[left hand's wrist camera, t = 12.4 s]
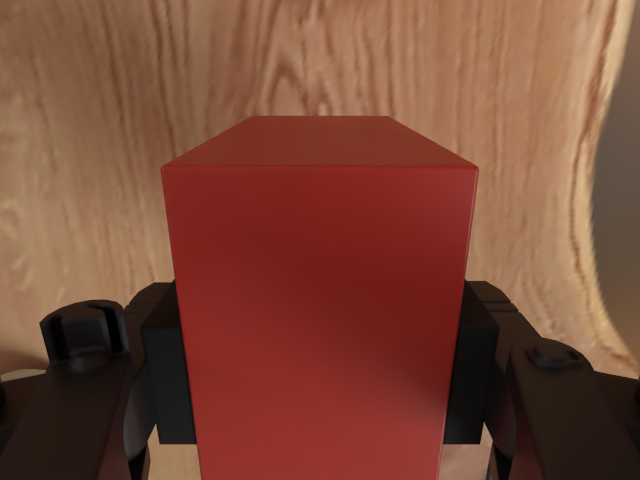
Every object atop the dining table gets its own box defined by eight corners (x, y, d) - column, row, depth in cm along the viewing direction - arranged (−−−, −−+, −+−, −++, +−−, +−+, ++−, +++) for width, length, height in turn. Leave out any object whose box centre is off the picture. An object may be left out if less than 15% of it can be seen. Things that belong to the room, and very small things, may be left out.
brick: (377, 323, 18) (430, 548, 10) (262, 323, 18) (209, 548, 10) (388, 115, 15) (481, 166, 6) (251, 115, 15) (158, 166, 6)
